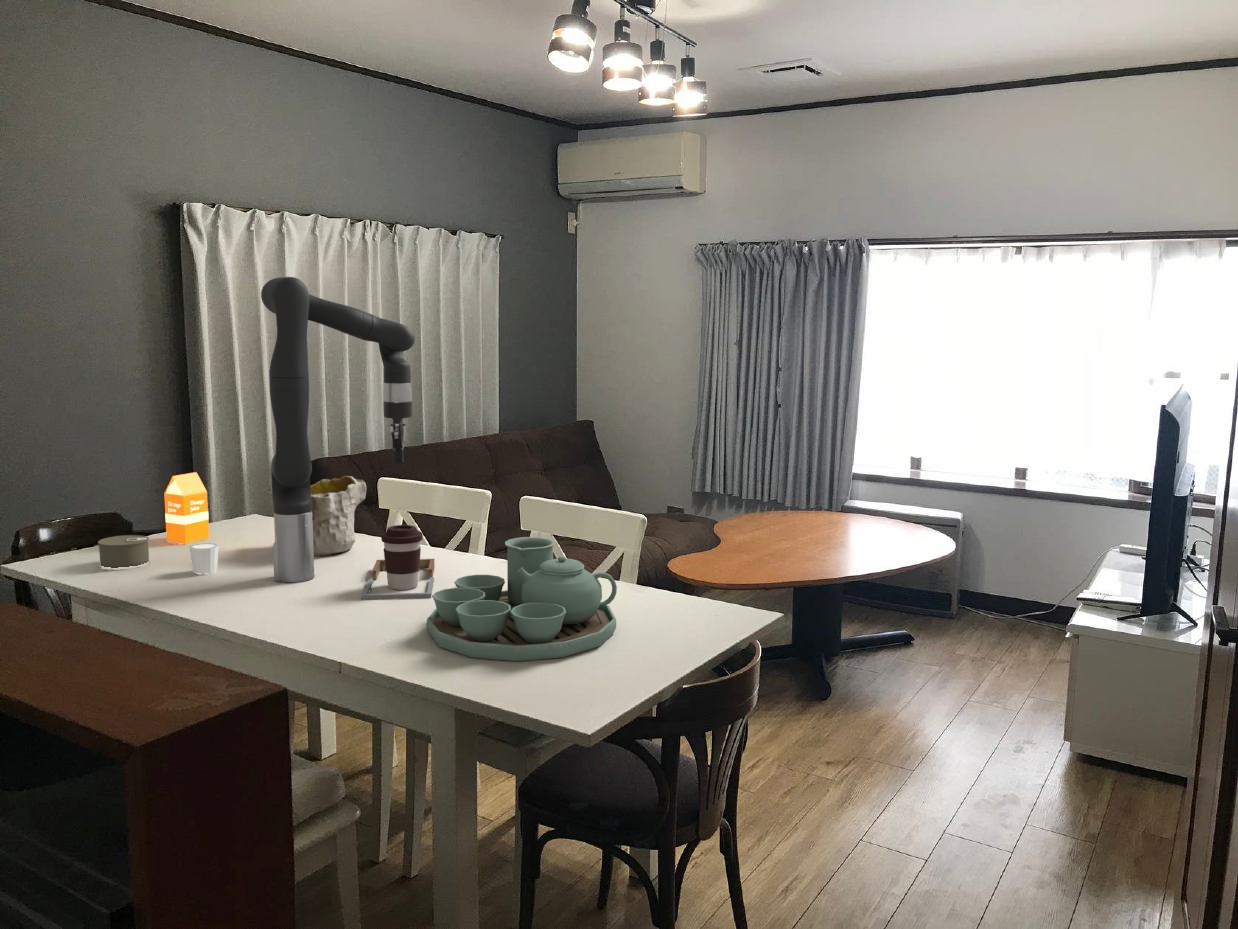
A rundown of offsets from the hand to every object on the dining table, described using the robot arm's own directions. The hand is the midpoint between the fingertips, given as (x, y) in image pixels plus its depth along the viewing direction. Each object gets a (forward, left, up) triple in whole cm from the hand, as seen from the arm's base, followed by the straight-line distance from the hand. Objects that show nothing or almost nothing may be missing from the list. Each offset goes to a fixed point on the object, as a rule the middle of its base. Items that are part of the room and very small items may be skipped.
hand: (398, 463), depth 259 cm
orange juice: (-64, +30, -27) cm, 76 cm away
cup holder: (+2, -14, -27) cm, 31 cm away
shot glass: (-49, -8, -27) cm, 57 cm away
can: (-72, +2, -27) cm, 77 cm away
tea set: (+31, -64, -28) cm, 76 cm away
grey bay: (+2, -29, -27) cm, 40 cm away
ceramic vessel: (-24, +15, -27) cm, 39 cm away
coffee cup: (+3, -27, -27) cm, 38 cm away
